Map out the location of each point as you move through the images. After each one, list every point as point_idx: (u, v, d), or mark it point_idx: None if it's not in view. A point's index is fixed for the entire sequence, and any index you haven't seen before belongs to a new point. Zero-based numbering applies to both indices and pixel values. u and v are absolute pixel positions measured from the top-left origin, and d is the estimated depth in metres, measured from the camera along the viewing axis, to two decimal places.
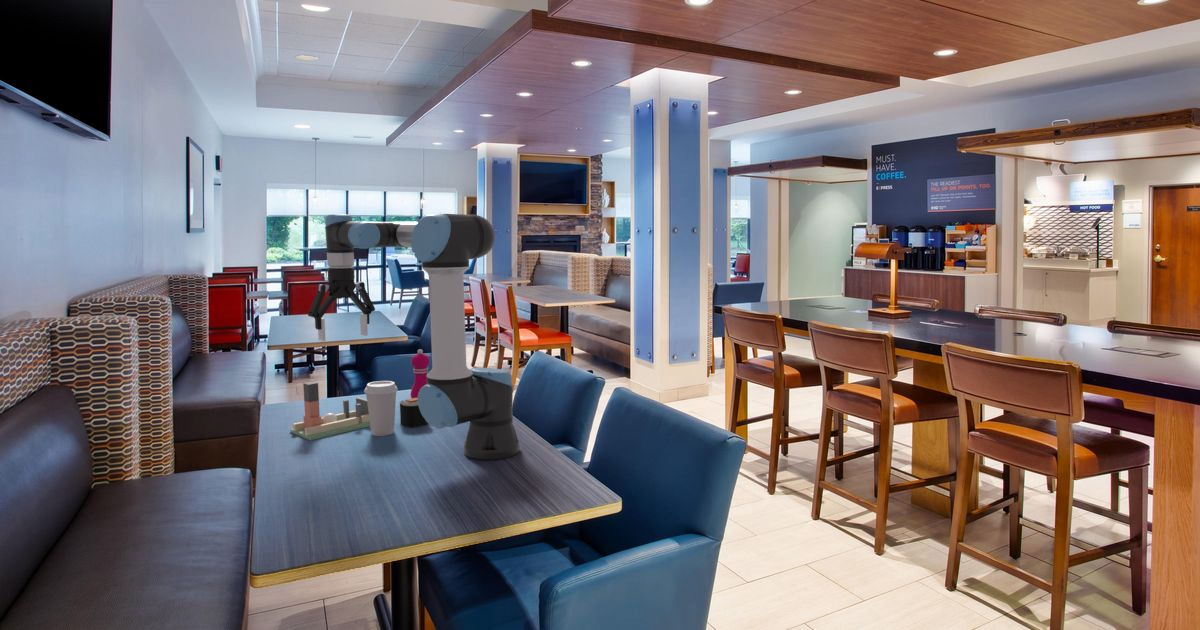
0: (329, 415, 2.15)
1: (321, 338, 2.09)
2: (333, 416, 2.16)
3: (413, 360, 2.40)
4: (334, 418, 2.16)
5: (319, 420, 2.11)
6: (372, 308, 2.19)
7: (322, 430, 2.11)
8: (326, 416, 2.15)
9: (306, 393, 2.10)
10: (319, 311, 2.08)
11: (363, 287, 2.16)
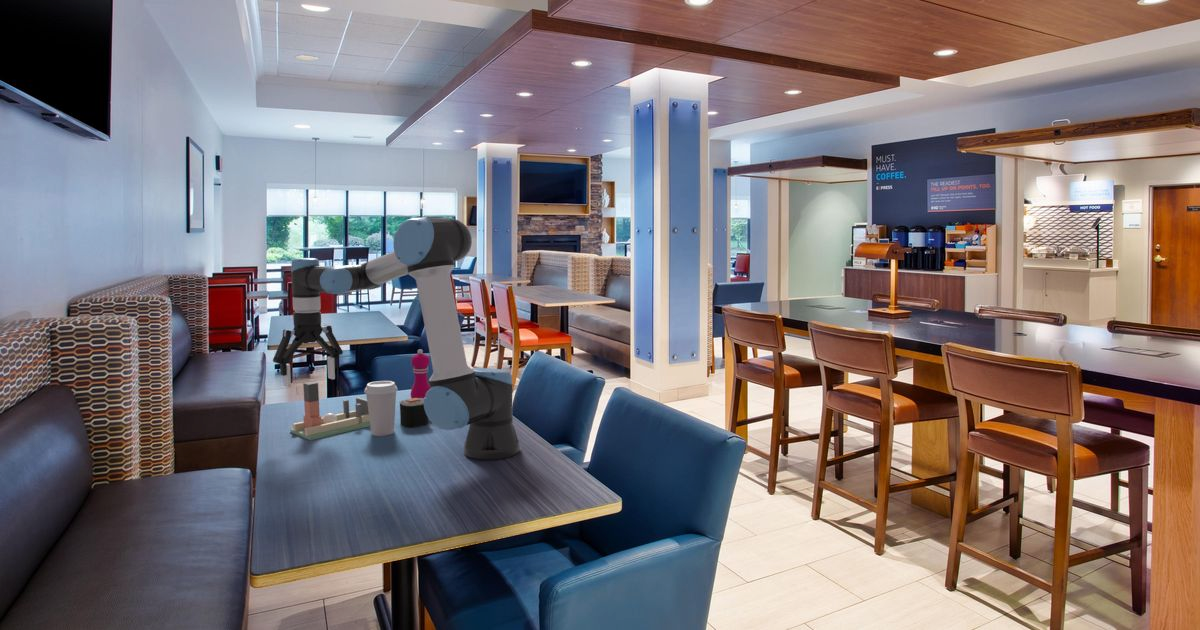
0: (329, 415, 2.15)
1: (286, 384, 2.05)
2: (333, 416, 2.16)
3: (413, 360, 2.40)
4: (334, 418, 2.16)
5: (319, 420, 2.11)
6: (340, 351, 2.16)
7: (322, 430, 2.11)
8: (326, 416, 2.15)
9: (306, 393, 2.10)
10: (284, 357, 2.04)
11: (330, 330, 2.13)
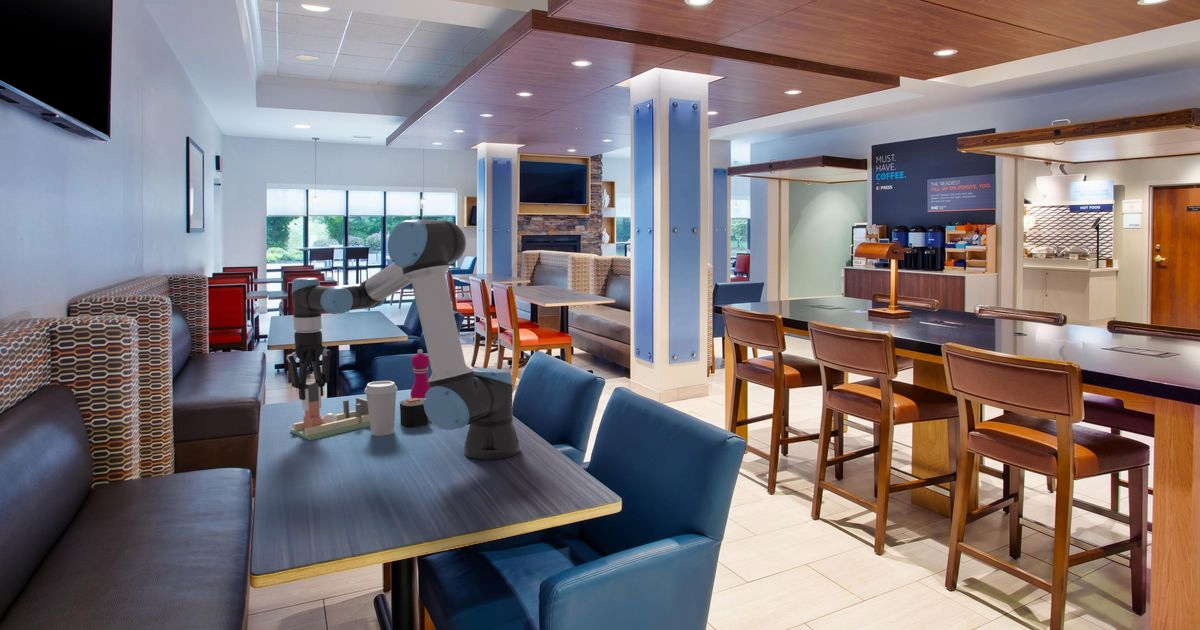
0: (329, 415, 2.15)
1: (305, 408, 2.10)
2: (333, 416, 2.16)
3: (413, 360, 2.40)
4: (334, 418, 2.16)
5: (319, 420, 2.11)
6: (326, 379, 2.13)
7: (322, 430, 2.11)
8: (326, 416, 2.15)
9: None
10: (300, 382, 2.08)
11: (329, 355, 2.13)
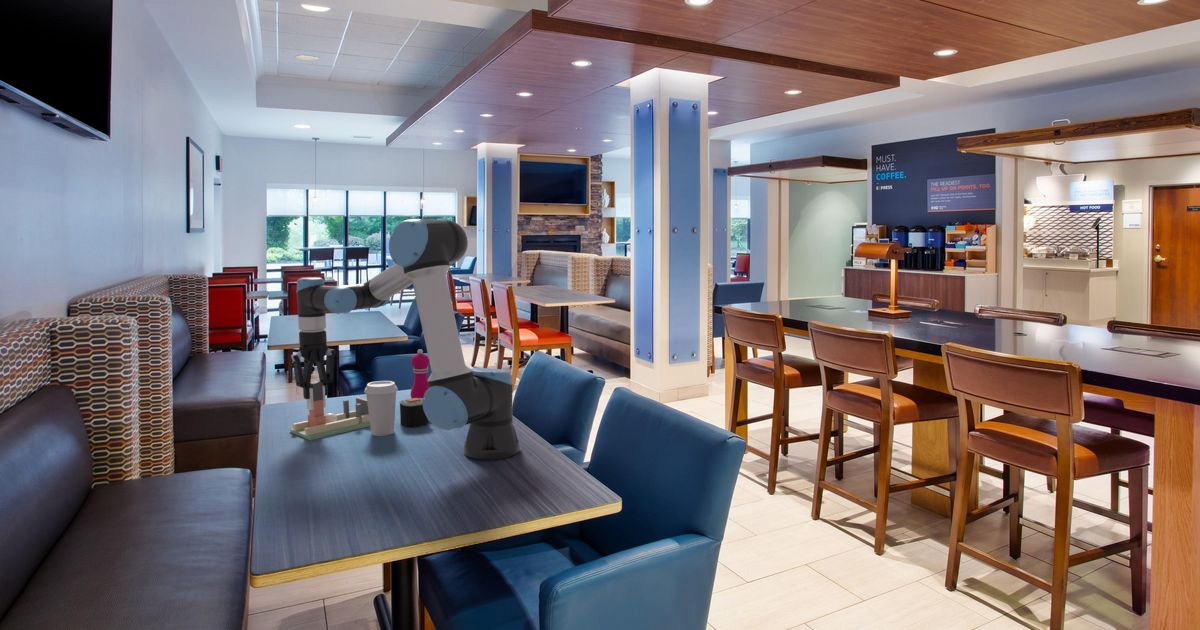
0: (329, 415, 2.15)
1: (309, 407, 2.11)
2: (333, 416, 2.16)
3: (413, 360, 2.40)
4: (334, 418, 2.16)
5: (323, 419, 2.12)
6: (331, 379, 2.15)
7: (322, 430, 2.11)
8: (326, 416, 2.15)
9: None
10: (305, 381, 2.09)
11: (333, 355, 2.14)
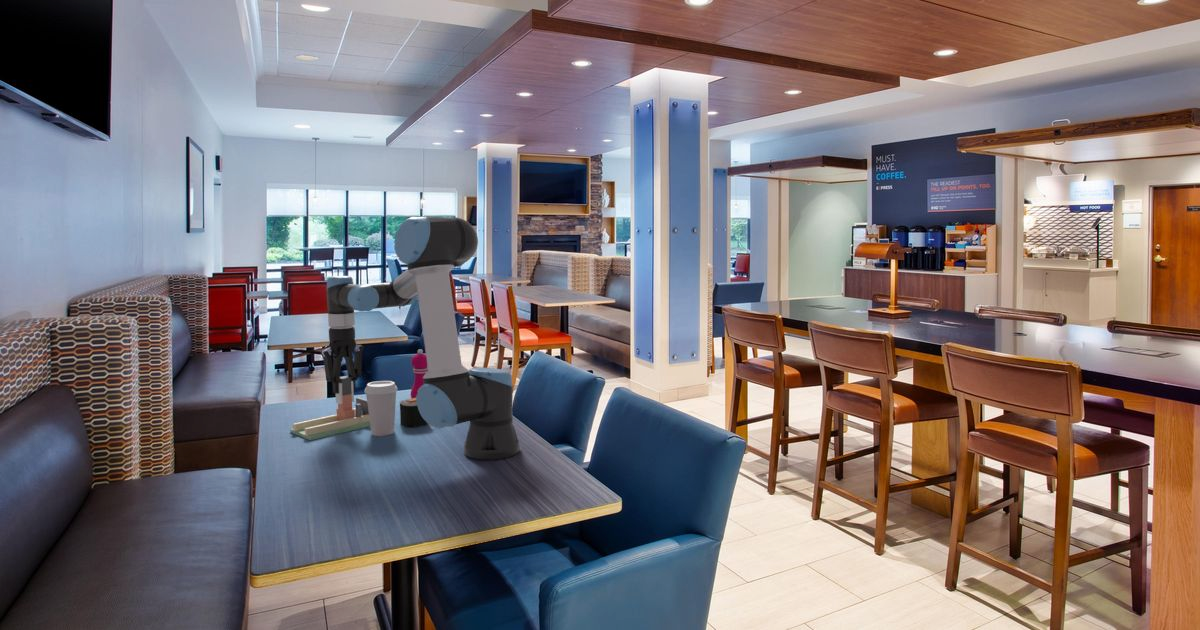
0: None
1: (338, 401, 2.18)
2: (354, 416, 2.21)
3: (413, 360, 2.40)
4: None
5: (352, 413, 2.19)
6: (359, 374, 2.21)
7: (322, 430, 2.11)
8: None
9: None
10: (334, 376, 2.16)
11: (361, 351, 2.21)
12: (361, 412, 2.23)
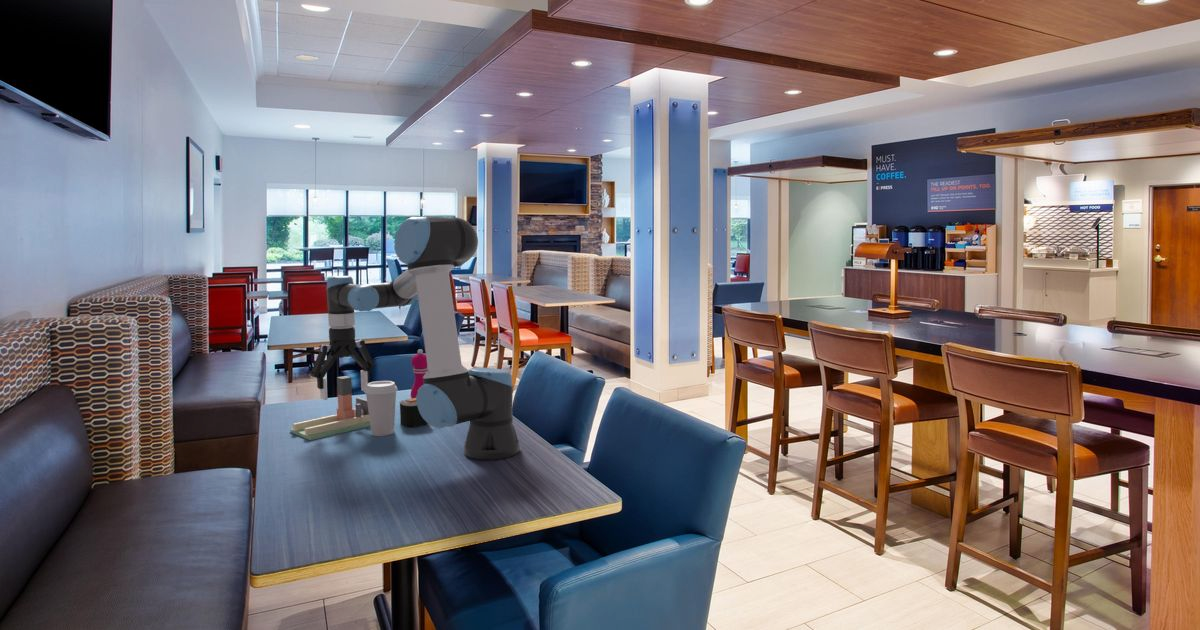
0: None
1: (323, 397, 2.14)
2: None
3: (413, 360, 2.40)
4: None
5: (352, 413, 2.19)
6: (372, 365, 2.25)
7: (322, 430, 2.11)
8: None
9: (339, 387, 2.18)
10: (321, 371, 2.13)
11: (363, 345, 2.22)
12: (363, 412, 2.23)
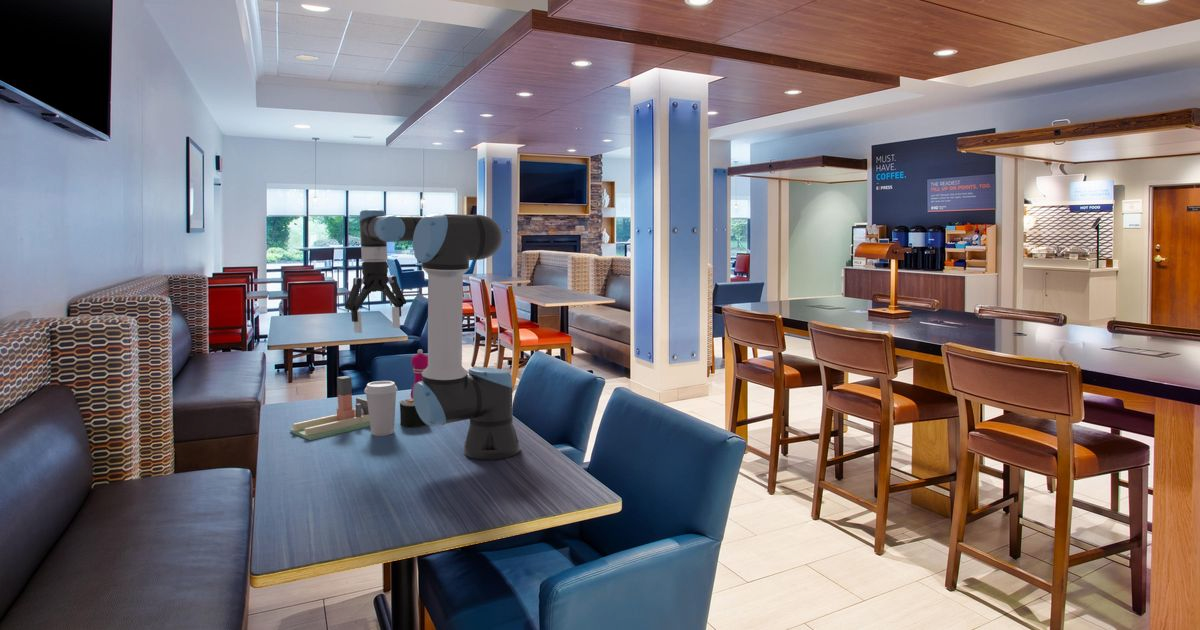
0: None
1: (357, 330, 2.14)
2: None
3: (413, 360, 2.40)
4: None
5: (352, 413, 2.19)
6: (404, 301, 2.25)
7: (322, 430, 2.11)
8: None
9: (339, 387, 2.18)
10: (355, 304, 2.13)
11: (395, 281, 2.22)
12: (363, 412, 2.23)
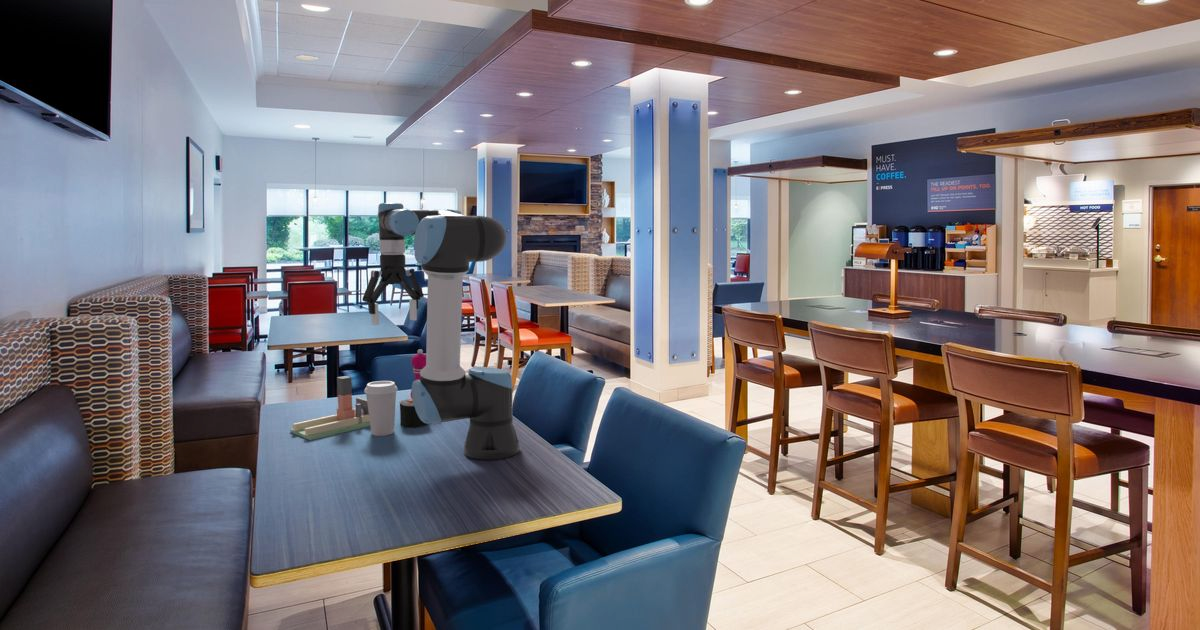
0: None
1: (374, 322, 2.16)
2: None
3: (413, 360, 2.40)
4: None
5: (352, 413, 2.19)
6: (421, 294, 2.27)
7: (322, 430, 2.11)
8: None
9: (339, 387, 2.18)
10: (373, 296, 2.15)
11: (413, 273, 2.24)
12: (363, 412, 2.23)
